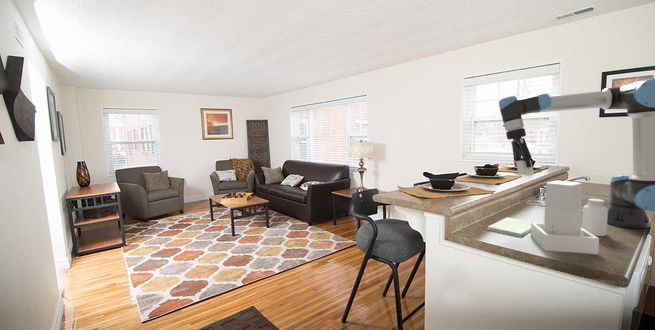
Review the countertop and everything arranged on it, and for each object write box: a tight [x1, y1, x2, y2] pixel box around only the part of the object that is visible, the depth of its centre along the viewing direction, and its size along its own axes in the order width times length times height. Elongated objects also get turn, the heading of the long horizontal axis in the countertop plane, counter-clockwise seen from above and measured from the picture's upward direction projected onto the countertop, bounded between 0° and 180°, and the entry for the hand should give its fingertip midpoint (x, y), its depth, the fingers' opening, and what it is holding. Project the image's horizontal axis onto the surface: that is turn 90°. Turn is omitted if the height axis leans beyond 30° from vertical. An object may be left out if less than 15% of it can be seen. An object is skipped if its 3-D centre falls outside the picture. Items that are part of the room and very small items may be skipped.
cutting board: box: [487, 216, 538, 238], centre depth 140 cm, size 22×14×2 cm, turn 128°
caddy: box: [530, 222, 600, 255], centre depth 118 cm, size 16×16×6 cm
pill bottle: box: [581, 198, 608, 237], centre depth 128 cm, size 8×8×15 cm
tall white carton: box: [544, 179, 584, 236], centre depth 117 cm, size 9×9×25 cm
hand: (526, 174), depth 136 cm, fingers open, 13 cm apart
